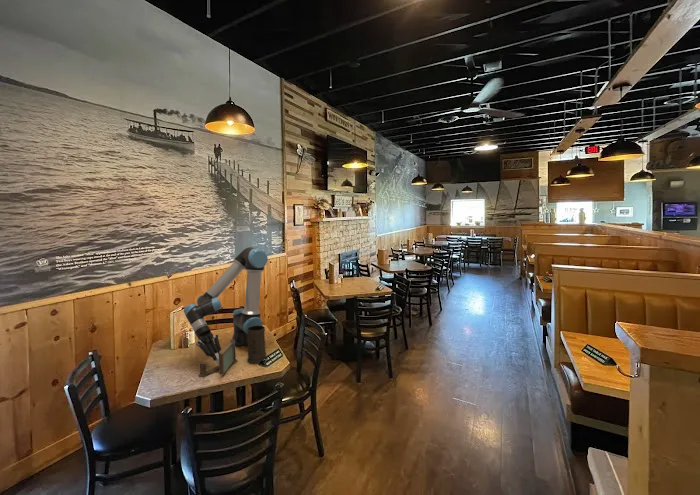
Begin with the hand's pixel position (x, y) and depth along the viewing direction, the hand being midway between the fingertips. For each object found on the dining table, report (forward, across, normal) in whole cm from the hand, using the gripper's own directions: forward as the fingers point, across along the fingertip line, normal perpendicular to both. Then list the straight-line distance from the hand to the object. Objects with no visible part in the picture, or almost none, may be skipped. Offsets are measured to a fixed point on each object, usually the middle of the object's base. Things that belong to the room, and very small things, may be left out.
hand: (220, 364), depth 184 cm
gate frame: (0, -2, -6) cm, 7 cm away
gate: (+3, -4, -2) cm, 5 cm away
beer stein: (+6, -23, -1) cm, 24 cm away
